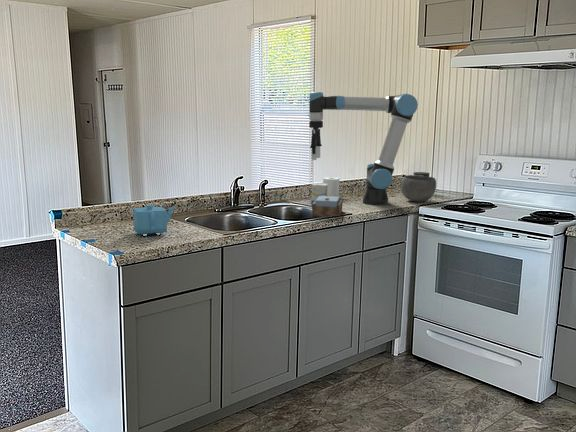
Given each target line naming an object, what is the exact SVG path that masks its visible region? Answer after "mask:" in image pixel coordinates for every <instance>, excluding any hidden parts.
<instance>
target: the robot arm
mask: <svg viewBox="0 0 576 432" xmlns="http://www.w3.org/2000/svg"><path fill="white" fill-rule="evenodd" d="M308 103H309V104H308V105H309V114H308V117H309V121H308V122H309V124H308V126H309V128H310V129H312V130H311V142H310V146H309V148H310V149H311V161H317V160H318V159H321V147H322V145H323V144H322V142H321V141H322V140H321V129H322V128H324V122H323V120H324V111H326V110H327V111H329V110H331V111H333V110H334V111H335V110H336V111H337V110H339V111H340V110H341V111H365V112H366V111H369V112H370V111H374V112H385V113H386V114H390V117H391V122H390V124H389V128H388V131H387V134H386V137H385V139H384V141H383V142H384V143H383V145H382V147H381V148H382V149H381V151H380V154H379V156H378V159H377V160H375V161H374V162H373V163H368V164H367V167H366V185H365V187H366V188H365V192H364V194H363V197H362V203H364V204H366V205H367V204H368V205H379V204H380V205H387V203H388V204H389V196H388V193H387V188H389V187H390V185H391V184H392V181H393V174H394V171H395V166H394V163H395V160H396V157H397V154H398V150H399V148H400V146H401V143H402V140H403V137H404V134H405V130H406V127H407V125H408V124H409V123H410V122H412V119H413V117H414V114H415V113H416V112H417V110H418V107H419V106H418V105H419V103H418V100H417V98H416V97H415V96H414V95H412V94H410V93H402V94H398V95H387V96H385V97H371V96H368V97H367V96H344V95H324V93H323V92H322V91H315V92H314V91H313V92H310V93H309V100H308Z"/></svg>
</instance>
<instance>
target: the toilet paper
mask: <svg viewBox="0 0 576 432" xmlns="http://www.w3.org/2000/svg"><path fill="white" fill-rule="evenodd" d="M322 180H323V181H322V183H324V184H328V189H327V196H335V197H340V182H341V181H340V180H341V179H340V177H339V178H338V177H331V176H330V177H323V178H322Z"/></svg>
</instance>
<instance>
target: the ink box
mask: <svg viewBox="0 0 576 432" xmlns="http://www.w3.org/2000/svg"><path fill="white" fill-rule="evenodd" d="M327 189H328V184H324V183H323V182H317V183H315V182H314V183H312V184H311V200H310V205H311V206H312V204H313V203H314V202H315V200H316V199H317V198H318V197H319V196H327Z"/></svg>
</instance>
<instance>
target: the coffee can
mask: <svg viewBox="0 0 576 432" xmlns="http://www.w3.org/2000/svg"><path fill="white" fill-rule="evenodd" d="M412 175H417V176H425V177H430V172H424V171H415V172H413V174H412Z"/></svg>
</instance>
